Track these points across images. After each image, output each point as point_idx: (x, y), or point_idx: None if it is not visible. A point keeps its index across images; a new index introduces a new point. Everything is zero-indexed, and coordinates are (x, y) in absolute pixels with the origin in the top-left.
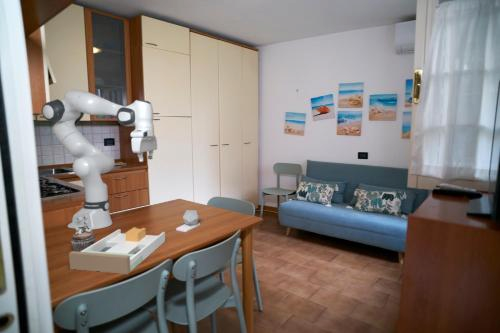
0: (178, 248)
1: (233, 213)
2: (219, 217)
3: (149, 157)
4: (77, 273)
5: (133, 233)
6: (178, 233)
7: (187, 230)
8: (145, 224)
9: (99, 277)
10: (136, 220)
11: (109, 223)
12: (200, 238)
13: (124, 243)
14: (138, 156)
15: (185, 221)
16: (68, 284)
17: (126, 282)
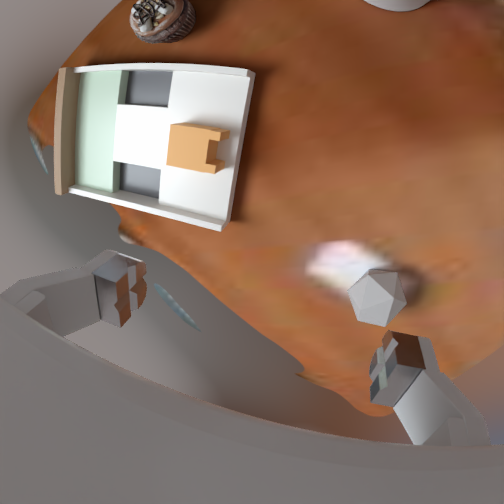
0: (185, 259)
1: None
2: None
3: (385, 364)
4: None
5: (168, 150)
6: (294, 251)
7: (320, 275)
8: (399, 127)
9: None
10: (446, 88)
11: (382, 3)
12: (251, 307)
13: (165, 126)
14: (50, 276)
15: (363, 276)
16: (48, 106)
17: None
